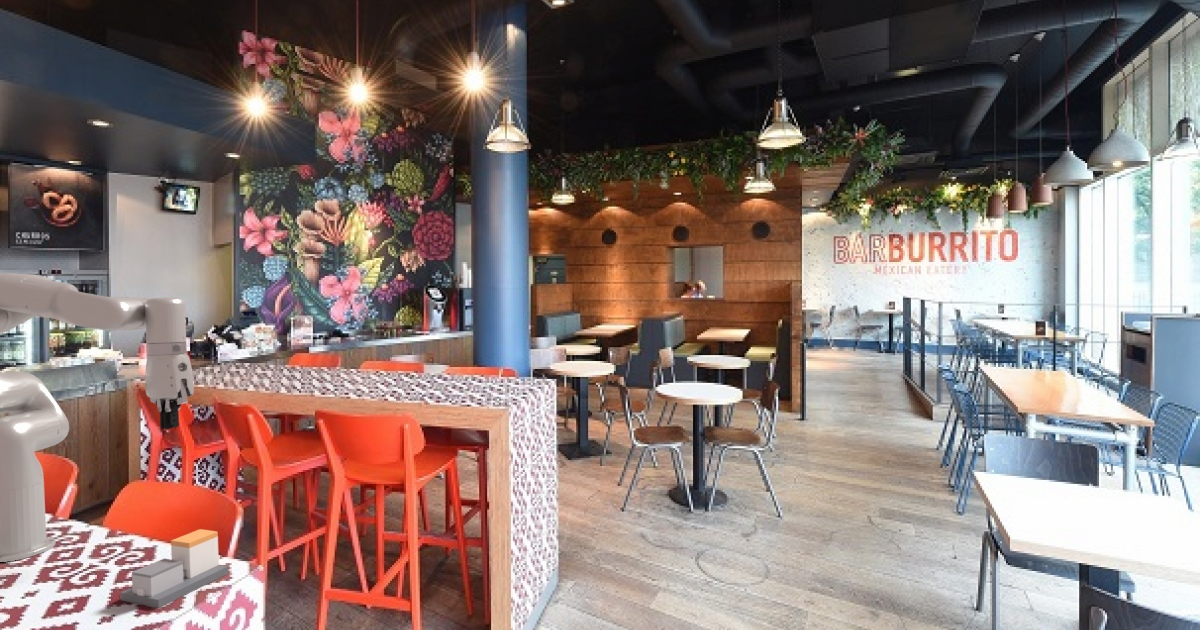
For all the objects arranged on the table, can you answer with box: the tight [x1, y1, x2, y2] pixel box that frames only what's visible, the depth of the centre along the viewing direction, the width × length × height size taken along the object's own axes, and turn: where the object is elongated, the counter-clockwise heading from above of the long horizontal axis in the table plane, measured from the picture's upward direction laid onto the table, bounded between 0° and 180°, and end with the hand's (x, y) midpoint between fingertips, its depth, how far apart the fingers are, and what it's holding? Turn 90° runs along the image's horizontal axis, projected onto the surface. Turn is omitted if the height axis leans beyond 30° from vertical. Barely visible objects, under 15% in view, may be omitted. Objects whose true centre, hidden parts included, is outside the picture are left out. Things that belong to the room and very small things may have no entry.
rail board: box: [120, 558, 229, 609], centre depth 115 cm, size 10×14×6 cm
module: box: [170, 528, 220, 578], centre depth 118 cm, size 5×6×7 cm
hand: (169, 427), depth 136 cm, fingers closed
